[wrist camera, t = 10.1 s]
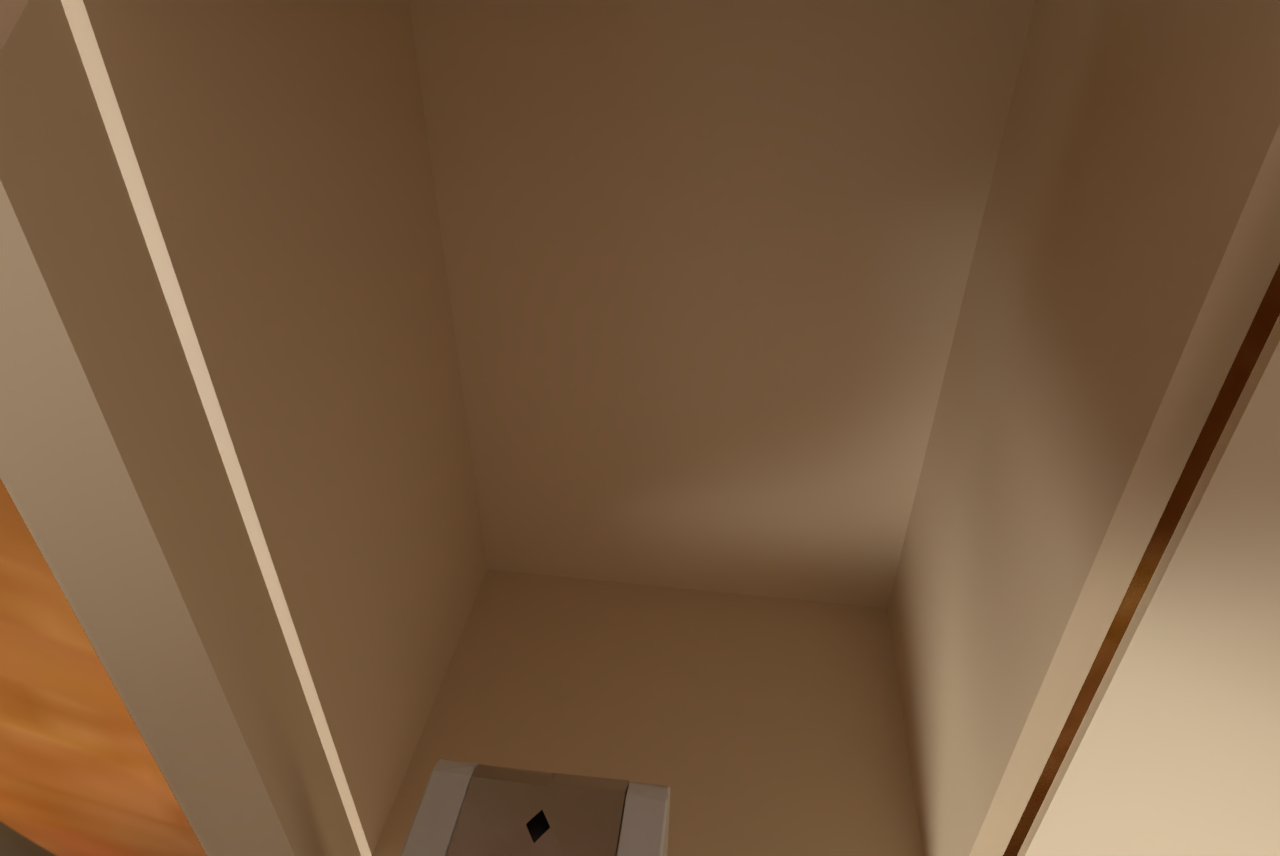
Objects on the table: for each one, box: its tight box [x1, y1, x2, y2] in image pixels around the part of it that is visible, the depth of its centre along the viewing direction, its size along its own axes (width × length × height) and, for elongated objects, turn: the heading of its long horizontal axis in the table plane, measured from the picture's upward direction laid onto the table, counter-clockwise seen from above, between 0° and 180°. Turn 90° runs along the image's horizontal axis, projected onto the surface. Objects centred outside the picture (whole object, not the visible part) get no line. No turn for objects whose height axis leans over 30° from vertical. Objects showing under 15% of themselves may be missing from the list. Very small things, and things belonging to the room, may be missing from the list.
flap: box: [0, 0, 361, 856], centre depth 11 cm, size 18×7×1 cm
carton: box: [61, 0, 1280, 856], centre depth 18 cm, size 21×14×10 cm, turn 0°
